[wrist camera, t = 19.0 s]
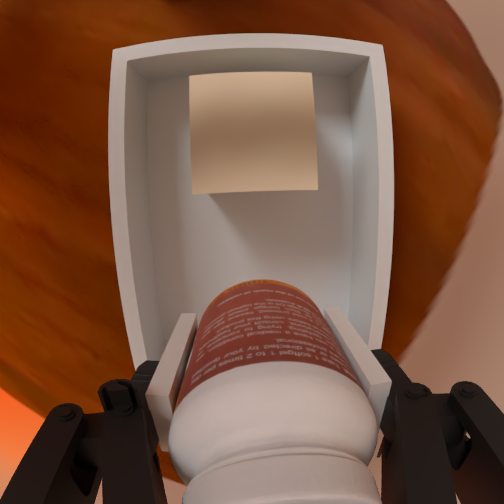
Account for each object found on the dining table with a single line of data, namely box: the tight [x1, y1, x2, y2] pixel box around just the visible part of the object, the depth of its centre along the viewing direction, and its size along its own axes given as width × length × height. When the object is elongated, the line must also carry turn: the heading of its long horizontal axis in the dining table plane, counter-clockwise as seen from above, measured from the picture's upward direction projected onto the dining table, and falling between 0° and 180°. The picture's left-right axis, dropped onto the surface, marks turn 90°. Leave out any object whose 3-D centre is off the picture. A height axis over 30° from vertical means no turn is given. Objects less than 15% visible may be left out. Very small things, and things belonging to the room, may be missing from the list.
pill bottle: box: [168, 278, 383, 504], centre depth 10 cm, size 6×6×11 cm
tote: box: [108, 33, 394, 371], centre depth 19 cm, size 16×22×5 cm
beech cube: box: [189, 72, 318, 194], centre depth 17 cm, size 6×6×6 cm
